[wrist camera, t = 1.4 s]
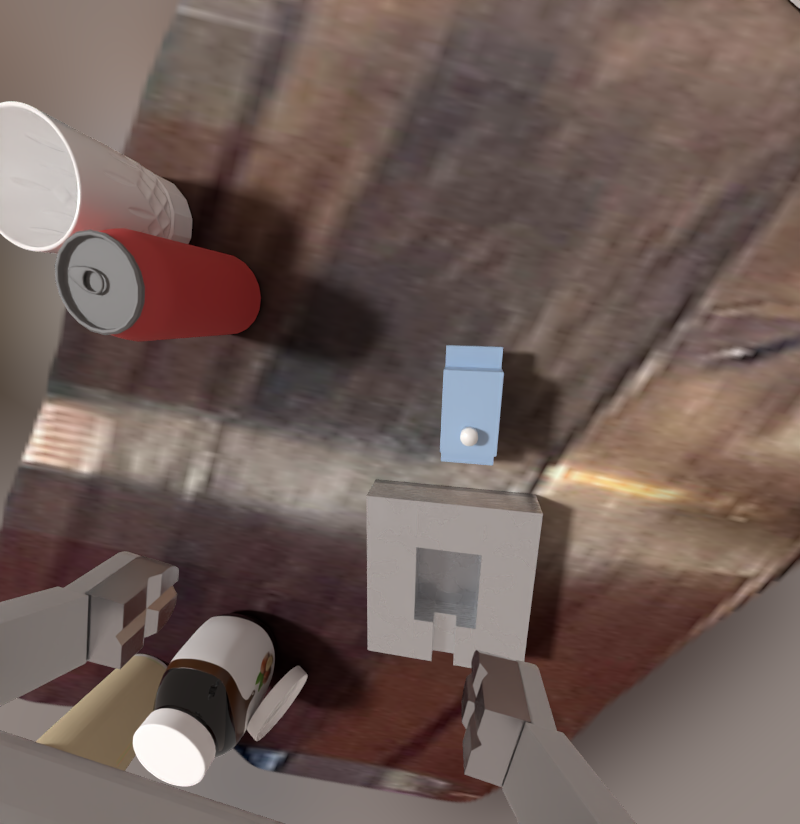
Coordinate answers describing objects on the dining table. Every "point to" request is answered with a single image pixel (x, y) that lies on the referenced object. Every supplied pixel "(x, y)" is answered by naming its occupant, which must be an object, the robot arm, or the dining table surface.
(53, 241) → the white cup
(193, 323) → the beer can
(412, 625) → the plate
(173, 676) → the spread jar
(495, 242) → the dining table surface
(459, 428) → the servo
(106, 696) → the coffee cup
